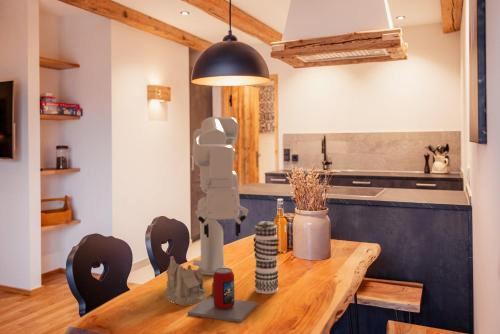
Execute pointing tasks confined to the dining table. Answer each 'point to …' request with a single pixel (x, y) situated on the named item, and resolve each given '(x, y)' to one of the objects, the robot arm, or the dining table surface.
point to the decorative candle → (266, 257)
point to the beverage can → (223, 288)
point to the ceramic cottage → (184, 284)
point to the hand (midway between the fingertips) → (222, 236)
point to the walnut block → (212, 290)
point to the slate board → (223, 310)
